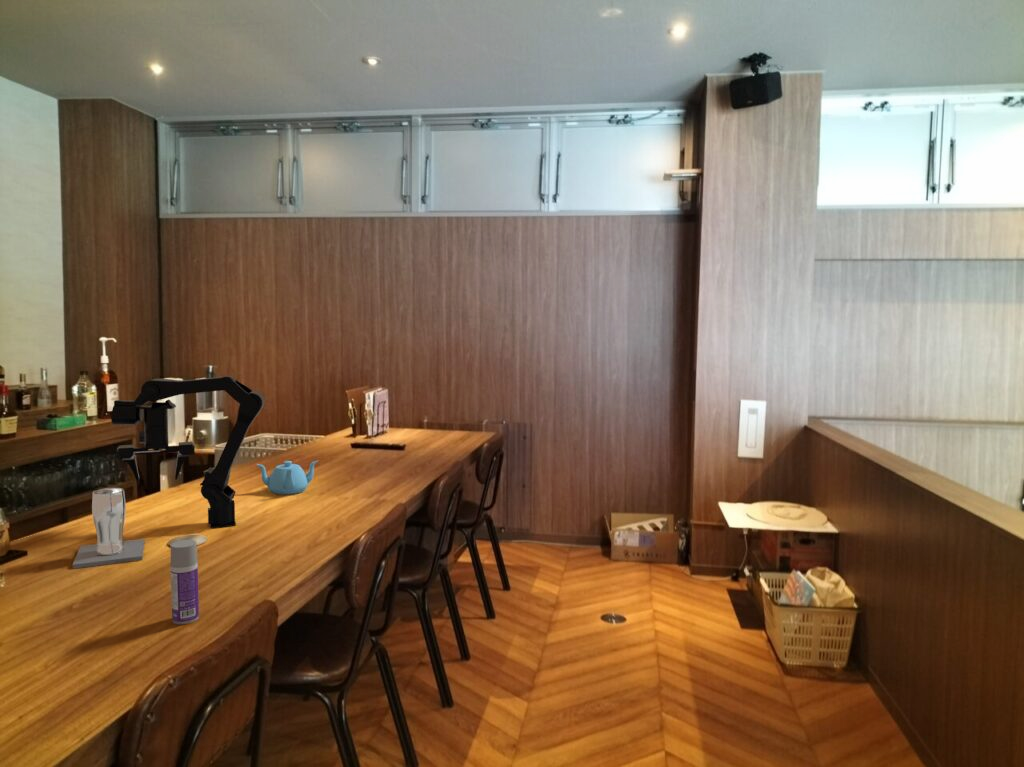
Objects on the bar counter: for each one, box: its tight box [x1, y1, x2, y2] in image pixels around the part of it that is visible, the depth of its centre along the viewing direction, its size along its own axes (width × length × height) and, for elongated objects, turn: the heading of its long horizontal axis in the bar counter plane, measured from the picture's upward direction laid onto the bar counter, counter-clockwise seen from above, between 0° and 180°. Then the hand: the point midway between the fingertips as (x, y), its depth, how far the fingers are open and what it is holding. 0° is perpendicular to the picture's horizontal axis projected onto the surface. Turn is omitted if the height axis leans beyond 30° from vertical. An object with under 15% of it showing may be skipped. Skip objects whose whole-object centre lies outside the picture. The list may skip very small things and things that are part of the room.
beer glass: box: [91, 487, 127, 556], centre depth 162 cm, size 7×7×15 cm
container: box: [170, 540, 200, 625], centre depth 128 cm, size 5×5×15 cm
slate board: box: [72, 538, 146, 570], centre depth 163 cm, size 14×14×1 cm
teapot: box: [256, 460, 319, 496], centre depth 226 cm, size 15×15×10 cm
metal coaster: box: [168, 534, 208, 547], centre depth 173 cm, size 9×9×1 cm
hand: (157, 481), depth 184 cm, fingers open, 9 cm apart
